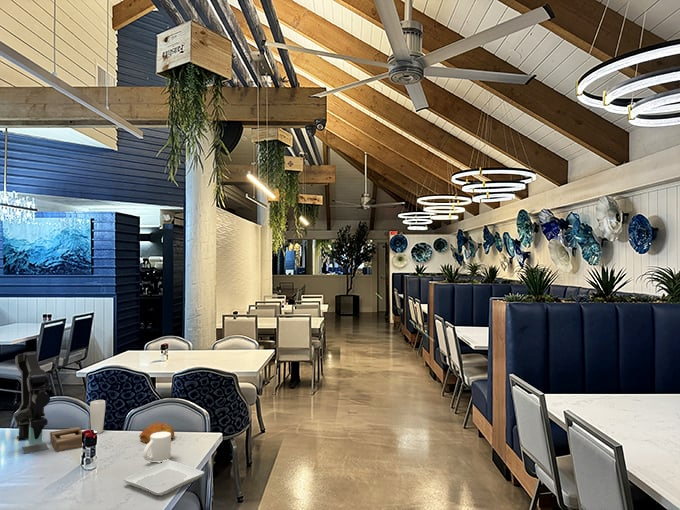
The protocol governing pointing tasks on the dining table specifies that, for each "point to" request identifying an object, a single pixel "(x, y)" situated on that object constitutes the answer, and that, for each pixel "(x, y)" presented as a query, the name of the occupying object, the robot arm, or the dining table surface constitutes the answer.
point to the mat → (35, 448)
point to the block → (32, 438)
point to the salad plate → (189, 471)
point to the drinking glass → (97, 415)
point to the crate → (66, 439)
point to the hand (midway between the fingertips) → (35, 437)
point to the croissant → (153, 429)
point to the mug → (158, 447)
